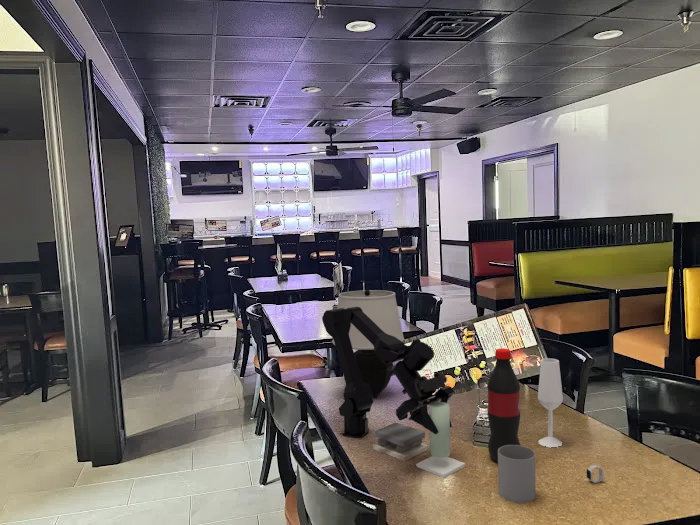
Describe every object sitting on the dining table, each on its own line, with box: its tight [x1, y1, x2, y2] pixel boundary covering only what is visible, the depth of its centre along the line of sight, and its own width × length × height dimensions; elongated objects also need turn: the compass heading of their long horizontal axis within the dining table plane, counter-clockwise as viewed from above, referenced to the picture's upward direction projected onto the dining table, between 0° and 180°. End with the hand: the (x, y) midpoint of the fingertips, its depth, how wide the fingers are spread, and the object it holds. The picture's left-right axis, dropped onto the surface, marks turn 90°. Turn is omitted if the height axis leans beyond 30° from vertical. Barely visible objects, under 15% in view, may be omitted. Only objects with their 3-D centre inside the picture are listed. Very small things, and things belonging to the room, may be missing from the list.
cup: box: [497, 444, 537, 504], centre depth 125 cm, size 8×8×10 cm
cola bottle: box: [486, 347, 521, 463], centre depth 143 cm, size 8×8×30 cm
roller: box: [428, 402, 451, 458], centre depth 140 cm, size 5×5×13 cm
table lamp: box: [331, 289, 405, 397], centre depth 201 cm, size 27×27×40 cm
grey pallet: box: [372, 422, 429, 462], centre depth 152 cm, size 12×10×5 cm
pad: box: [416, 455, 466, 479], centre depth 141 cm, size 9×9×1 cm
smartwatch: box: [586, 464, 605, 484], centre depth 130 cm, size 4×2×4 cm, turn 96°
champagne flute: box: [537, 357, 564, 448], centre depth 153 cm, size 7×7×24 cm
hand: (443, 430), depth 139 cm, fingers closed on roller, 5 cm apart
